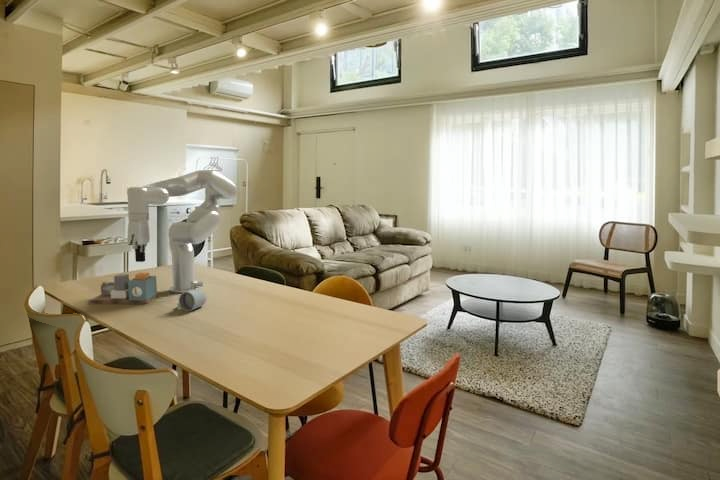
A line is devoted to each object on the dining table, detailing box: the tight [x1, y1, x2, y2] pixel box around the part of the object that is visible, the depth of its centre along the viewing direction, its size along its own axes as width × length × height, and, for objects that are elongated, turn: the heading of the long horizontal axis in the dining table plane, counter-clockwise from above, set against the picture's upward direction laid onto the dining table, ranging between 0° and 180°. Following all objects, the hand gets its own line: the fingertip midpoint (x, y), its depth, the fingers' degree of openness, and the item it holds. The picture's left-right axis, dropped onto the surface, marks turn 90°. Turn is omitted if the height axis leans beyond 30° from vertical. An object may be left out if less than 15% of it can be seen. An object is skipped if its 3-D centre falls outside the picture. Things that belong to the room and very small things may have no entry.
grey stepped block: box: [111, 273, 130, 299], centre depth 178 cm, size 6×7×9 cm
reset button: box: [134, 272, 150, 280], centre depth 178 cm, size 4×4×3 cm
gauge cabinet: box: [128, 275, 158, 300], centre depth 179 cm, size 7×11×8 cm, turn 3°
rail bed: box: [88, 281, 158, 305], centre depth 179 cm, size 23×10×7 cm, turn 93°
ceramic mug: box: [176, 288, 207, 312], centre depth 170 cm, size 11×8×8 cm
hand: (140, 261), depth 177 cm, fingers closed
